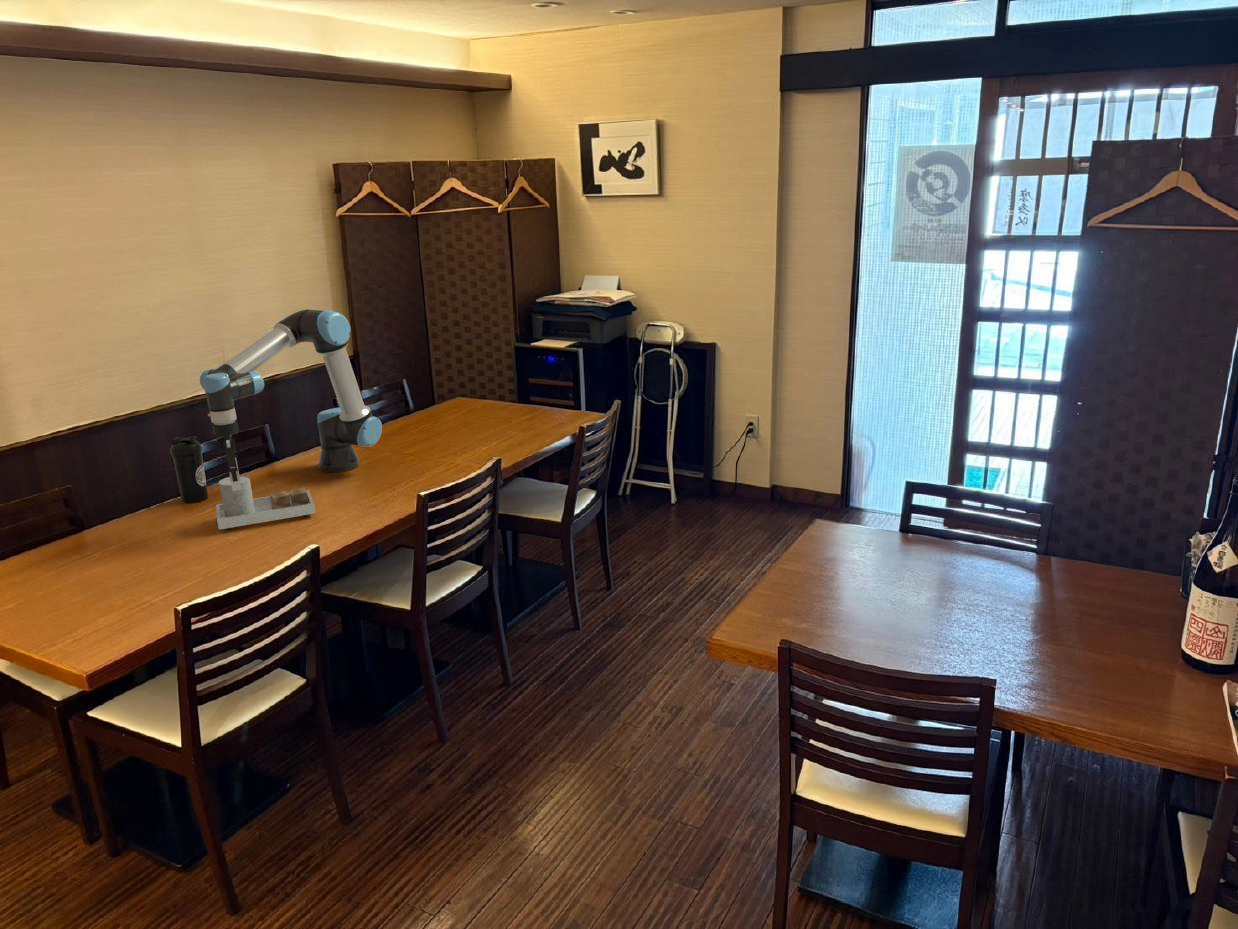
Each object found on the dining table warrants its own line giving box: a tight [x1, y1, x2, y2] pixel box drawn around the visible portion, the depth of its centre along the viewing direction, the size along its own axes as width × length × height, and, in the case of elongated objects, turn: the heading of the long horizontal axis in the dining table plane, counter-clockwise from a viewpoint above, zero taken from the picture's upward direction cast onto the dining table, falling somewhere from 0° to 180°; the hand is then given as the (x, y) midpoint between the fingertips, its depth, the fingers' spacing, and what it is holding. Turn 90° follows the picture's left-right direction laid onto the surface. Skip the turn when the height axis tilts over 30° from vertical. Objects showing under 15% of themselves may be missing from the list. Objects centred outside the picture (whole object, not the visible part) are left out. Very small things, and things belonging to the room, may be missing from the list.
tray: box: [215, 489, 316, 531], centre depth 302 cm, size 30×15×5 cm, turn 114°
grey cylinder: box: [218, 475, 255, 517], centre depth 297 cm, size 10×10×12 cm
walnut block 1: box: [269, 490, 291, 509], centre depth 303 cm, size 5×5×5 cm
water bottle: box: [169, 435, 209, 505], centre depth 318 cm, size 10×10×23 cm
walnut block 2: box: [289, 488, 308, 506], centre depth 305 cm, size 5×5×5 cm
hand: (236, 483), depth 296 cm, fingers open, 13 cm apart
